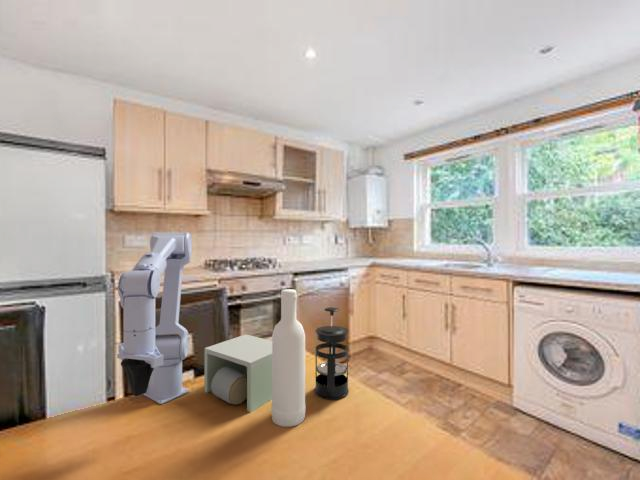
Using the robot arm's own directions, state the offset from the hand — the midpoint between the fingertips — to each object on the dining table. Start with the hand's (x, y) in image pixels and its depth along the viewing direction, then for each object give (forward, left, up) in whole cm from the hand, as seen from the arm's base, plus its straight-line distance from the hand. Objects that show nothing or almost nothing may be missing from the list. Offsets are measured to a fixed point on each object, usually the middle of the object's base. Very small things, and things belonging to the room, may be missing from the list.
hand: (139, 393), depth 64 cm
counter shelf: (+2, +28, -10) cm, 30 cm away
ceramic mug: (+2, +23, -10) cm, 26 cm away
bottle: (+20, +24, -10) cm, 33 cm away
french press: (+22, +40, -10) cm, 47 cm away
